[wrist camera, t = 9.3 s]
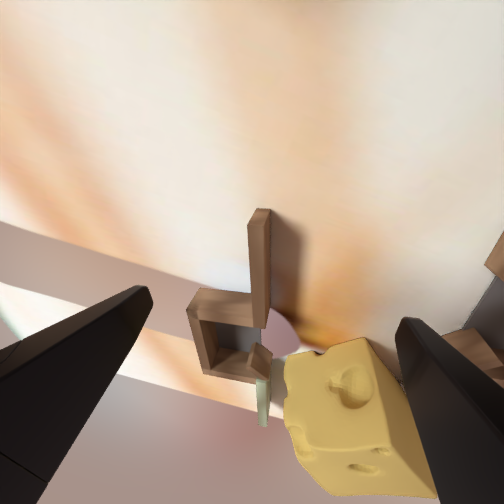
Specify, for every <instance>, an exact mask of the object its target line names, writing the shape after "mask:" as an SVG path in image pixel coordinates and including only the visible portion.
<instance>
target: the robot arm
mask: <svg viewBox="0 0 504 504" xmlns="http://www.w3.org/2000/svg"><path fill="white" fill-rule="evenodd" d="M152 307H153V300H152V297H151V294H150V291H149V289H148V287H146V286H142V285H136V286H133V287H131V288H129V289H127V290H125V291H123V292H121V293H118V294H116V295H114V296H112V297H110V298H108V299H106V300H104V301H102V302H100V303H98V304H95V305H93V306H91V307H89V308H87V309H85V310H83V311H81V312H79V313H77V314H75V315H72V316H70V317H68V318H66V319H64V320H62V321H60V322H58V323H56V324H54V325H52V326H49V327H47V328H45V329H43V330H41V331H39V332H37V333H35V334H33V335H31V336H29V337H26V338H24V339H23V340H20V341H18V342H16V343H14V344H12V345H10V346H8V347H5V348H3V349H1V350H0V504H36V503H37V501H38V500H39V498H40V497H41V495H42V494H43V492H44V490H45V488H46V487H47V485H48V483H49V482H50V480H51V479H52V477H53V475H54V473H55V472H56V470H57V469H58V467H59V465H60V464H61V462H62V461H63V459H64V457H65V456H66V454H67V452H68V451H69V449H70V448H71V446H72V444H73V443H74V441H75V439H76V438H77V436H78V434H79V433H80V431H81V430H82V428H83V427H84V425H85V423H86V422H87V420H88V418H89V417H90V415H91V414H92V412H93V410H94V408H95V407H96V405H97V404H98V402H99V401H100V399H101V397H102V396H103V394H104V392H105V391H106V389H107V387H108V386H109V384H110V383H111V381H112V379H113V378H114V376H115V374H116V373H117V371H118V370H119V368H120V366H121V365H122V363H123V361H124V360H125V358H126V357H127V355H128V353H129V352H130V350H131V348H132V347H133V345H134V343H135V341H136V340H137V338H138V336H139V334H140V332H141V330H142V328H143V326H144V323H145V321H146V319H147V317H148V315H149V313H150V311H151V309H152ZM395 343H396V349H397V354H398V359H399V364H400V369H401V374H402V379H403V384H404V388H405V392H406V396H407V399H408V402H409V406H410V409H411V412H412V415H413V418H414V421H415V425H416V428H417V431H418V434H419V437H420V440H421V444H422V447H423V450H424V453H425V456H426V459H427V463H428V466H429V469H430V472H431V475H432V478H433V481H434V485H435V488H436V491H437V494H438V497H439V500H440V503H441V504H504V388H503V387H502V386H500V385H499V384H498V383H497V382H495V381H494V380H493V379H492V378H491V377H489V376H488V375H487V374H486V373H485V372H483V371H482V370H481V369H480V368H479V367H477V366H476V365H475V364H474V363H473V362H471V361H470V360H469V359H468V358H467V357H465V356H464V355H463V354H462V353H461V352H459V351H458V350H457V349H456V348H454V347H453V346H452V345H451V344H450V343H448V342H447V341H446V340H445V339H444V338H442V337H441V336H440V335H439V334H438V333H436V332H435V331H434V330H433V329H432V328H430V327H429V326H428V325H427V324H426V323H424V322H423V321H422V320H420V319H418V318H413V317H403V318H402V320H401V322H400V324H399V327H398V329H397V331H396V334H395Z"/></svg>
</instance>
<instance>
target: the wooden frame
mask: <svg viewBox="0 0 504 504" xmlns="http://www.w3.org/2000/svg"><path fill="white" fill-rule="evenodd" d="M247 230H248V247H249V263H250V280H251V293H242V292H234V291H225V290H216V289H207V288H199V290H198V291H197V293H196V295H195V296H194V298H193V299H192V301H191V302H190V304H189V306H188V307H187V309H186V312H187V315H188V319H189V323H190V327H191V330H192V334H193V338H194V342H195V345H196V349H197V353H198V356H199V360H200V364H201V368H202V371H203V374H206V375H211V376H216V377H221V378H226V379H231V380H236V381H241V382H246V383H251V384H256V392H257V409H258V423H259V424H258V425H260V426H264V427H267V422H268V415H269V407H270V400H271V362H272V355H273V354H272V353H271V352H270V351H269V350H268V349H266V348H265V347H264V346H262V345H261V329H265V328H266V323H267V319H268V314H269V309H270V304H271V293H270V209H259V208H257V209H256V210H255V212H254V214H253V216H252V217H251V219H250V221H249V223H248V225H247ZM484 265H485V266H486V267H487V268H488V269H490V270H491V271H492V272H493V273H494V274H495V275H496V277H495V278H494V280H493V281H492V283H491V284H490V286H489V288H488V289H487V291H486V292H485V294H484V295H483V297H482V299H481V300H480V302H479V303H478V305H477V306H476V308H475V309H474V311H473V313H472V314H471V316H470V317H469V319H468V320H467V322H466V323H465V325H464V327H463V328H462V329H461V330H458V331H455V332H452V333H449V334H446V335H443V336H441V337H442V338H444V339H445V340H446V341H447V342H448V343H450V344H451V345H452V346H453V347H454V348H456V349H457V350H458V351H459V352H461V353H462V354H463V355H464V356H465V357H467V358H468V359H469V360H470V361H471V362H473V363H474V364H475V365H476V366H477V367H479V368H480V369H481V370H482V371H483V372H485V373H486V374H487V375H488V376H489V377H491V378H492V379H493V380H494V381H495V382H497V383H498V384H499V385H500V386H502V387H503V388H504V232H503V233H502V235H501V237H500V238H499V240H498V242H497V244H496V245H495V247H494V249H493V250H492V252H491V254H490V255H489V257H488V259H487V261H486V262H485V264H484ZM406 397H407V396H406Z"/></svg>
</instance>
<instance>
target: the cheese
mask: <svg viewBox="0 0 504 504" xmlns="http://www.w3.org/2000/svg"><path fill="white" fill-rule="evenodd" d="M284 381H285V383H286V386H287V390H288V395H287V397H286V398H285V399H284V406H283V416H284V422H285V426H286V428H287V429H288V431H289V432H290V435H291V438H292V442H293V446H294V450H295V454H296V456H297V459H298V461H299V462H300V464H301V465H302V466H303V467H304V468H305V469H306V471H307V472H308V473H309V474H310V475H311V476H312V477H313V478H314V480H315V481H316V482H317V483H318V484H319V485H320V486H321V487H322V488H323V489H324V490H326V491H327V492H329V493H330V494H331V495H334V496H353V495H394V496H410V497H422V498H432V499H436V498H437V491H436V488H435V485H434V481H433V478H432V475H431V472H430V469H429V466H428V463H427V459H426V456H425V453H424V450H423V447H422V444H421V440H420V437H419V434H418V431H417V428H416V425H415V421H414V418H413V415H412V412H411V409H410V406H409V402H408V399H407V397H406V395H405V393H404V391H403V389H402V388H401V386H400V384H399V383H398V381H397V380H396V379H395V377H394V376H393V375H392V374H391V372H390V371H389V370H388V369H387V368H386V366H385V365H384V364H383V363H382V361H381V360H380V359H379V357H378V356H377V355H376V353H375V352H374V350H373V349H372V347H371V346H370V344H369V343H368V341H367V340H366V339H365V338H358V339H355V340H351V341H348V342H344V343H341V344H337V345H334V346H331V347H330V348H329V349H327V351H326V352H325V354H323V355H318V354H316V353H315V352H314V351H308V352H303V353H299V354H294V355H289V356H288V357H287V359H286V362H285V367H284Z"/></svg>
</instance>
